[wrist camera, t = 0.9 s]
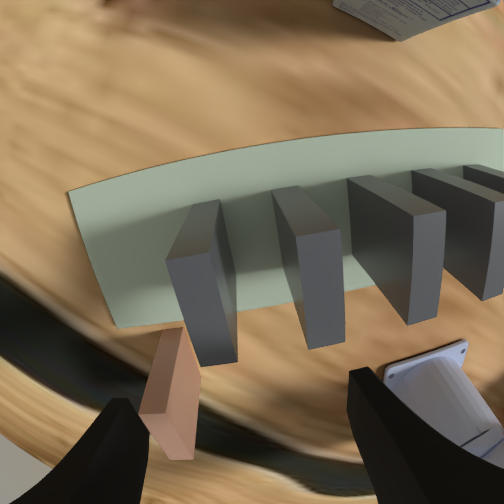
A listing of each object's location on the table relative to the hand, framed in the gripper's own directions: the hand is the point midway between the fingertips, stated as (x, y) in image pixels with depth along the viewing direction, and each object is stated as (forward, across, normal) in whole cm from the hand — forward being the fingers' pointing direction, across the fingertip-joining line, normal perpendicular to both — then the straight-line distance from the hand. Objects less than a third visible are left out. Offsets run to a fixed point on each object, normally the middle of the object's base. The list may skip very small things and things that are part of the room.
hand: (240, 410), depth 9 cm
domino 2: (+9, -3, -2) cm, 10 cm away
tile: (+10, +5, +5) cm, 12 cm away
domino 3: (+9, -7, -3) cm, 12 cm away
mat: (+10, -5, -2) cm, 11 cm away
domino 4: (+9, -11, -3) cm, 15 cm away
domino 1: (+9, +1, -2) cm, 10 cm away
